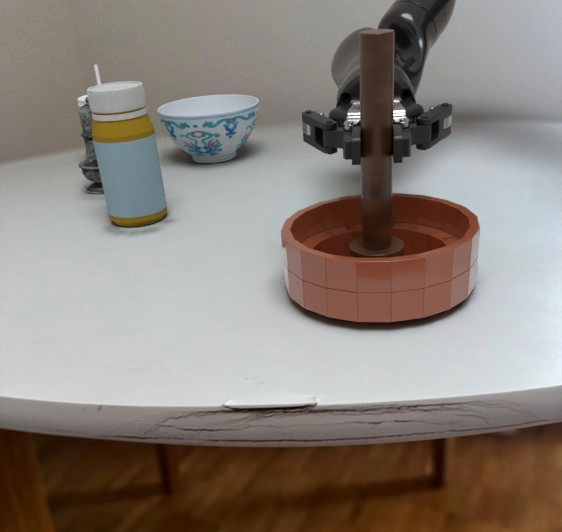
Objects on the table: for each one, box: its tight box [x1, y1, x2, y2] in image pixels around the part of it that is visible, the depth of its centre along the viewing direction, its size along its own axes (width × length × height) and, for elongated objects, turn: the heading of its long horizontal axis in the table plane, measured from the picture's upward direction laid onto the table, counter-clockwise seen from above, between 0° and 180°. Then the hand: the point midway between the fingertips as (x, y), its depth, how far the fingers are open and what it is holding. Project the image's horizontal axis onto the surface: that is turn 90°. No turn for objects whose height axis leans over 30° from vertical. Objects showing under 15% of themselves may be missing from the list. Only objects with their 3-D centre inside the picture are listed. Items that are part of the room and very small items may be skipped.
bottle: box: [86, 80, 168, 228], centre depth 80 cm, size 7×7×15 cm
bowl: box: [280, 192, 481, 323], centre depth 61 cm, size 17×17×6 cm
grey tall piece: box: [78, 97, 104, 195], centre depth 93 cm, size 6×6×12 cm
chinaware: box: [156, 93, 260, 164], centre depth 104 cm, size 15×15×8 cm
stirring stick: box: [349, 28, 405, 258], centre depth 56 cm, size 5×5×18 cm
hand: (376, 150), depth 53 cm, fingers closed on stirring stick, 2 cm apart
